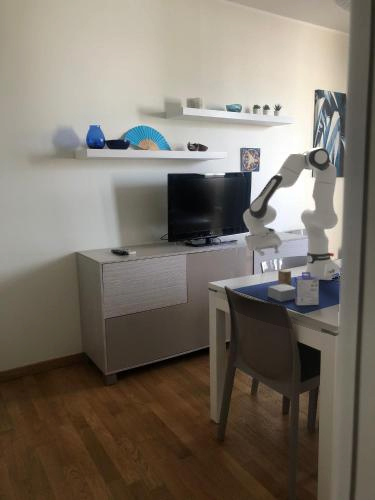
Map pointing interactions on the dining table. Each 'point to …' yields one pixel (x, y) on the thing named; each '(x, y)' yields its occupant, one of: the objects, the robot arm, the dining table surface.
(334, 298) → the dining table surface
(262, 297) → the dining table surface
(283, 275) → the brown cylinder
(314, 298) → the ink cartridge box
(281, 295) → the white square block
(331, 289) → the dining table surface
